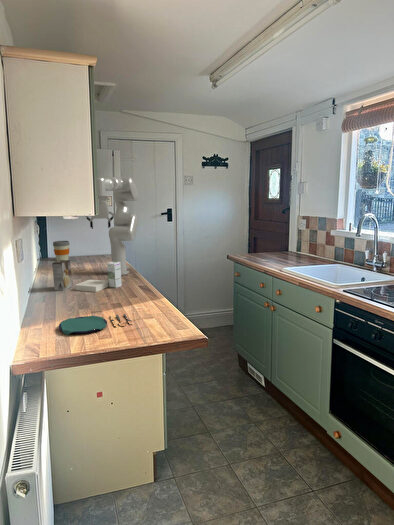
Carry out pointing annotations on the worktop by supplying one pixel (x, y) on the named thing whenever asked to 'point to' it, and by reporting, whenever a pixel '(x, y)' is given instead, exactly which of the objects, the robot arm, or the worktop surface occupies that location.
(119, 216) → the robot arm
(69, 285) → the coffee box
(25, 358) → the worktop surface
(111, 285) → the syrup box
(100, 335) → the worktop surface
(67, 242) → the reusable coffee cup
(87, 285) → the base plinth
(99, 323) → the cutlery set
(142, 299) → the worktop surface
